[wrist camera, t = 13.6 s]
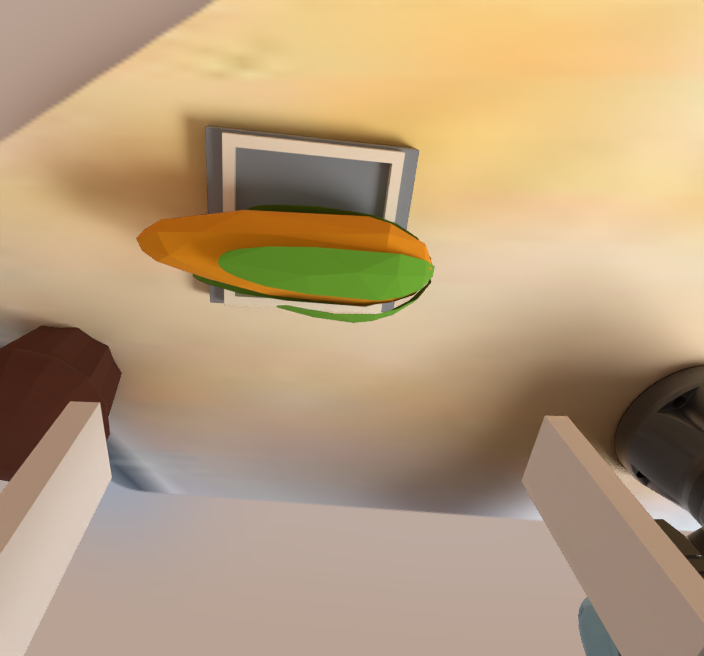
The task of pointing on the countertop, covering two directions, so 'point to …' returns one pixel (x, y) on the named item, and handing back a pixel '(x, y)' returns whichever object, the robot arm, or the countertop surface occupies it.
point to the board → (306, 185)
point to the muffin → (49, 387)
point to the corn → (297, 256)
